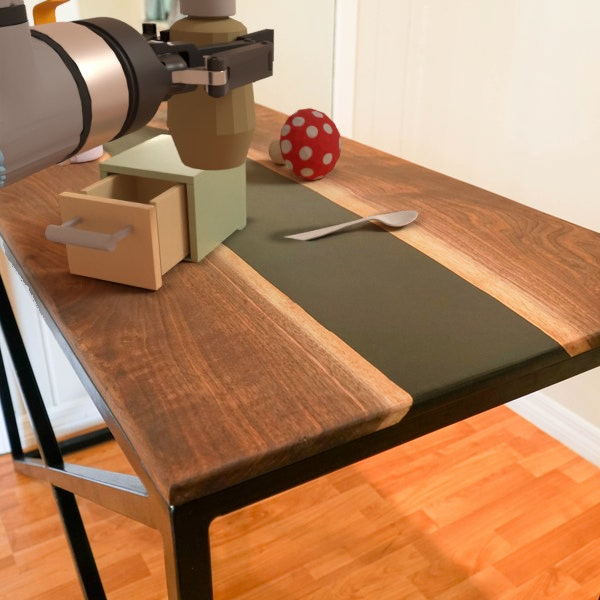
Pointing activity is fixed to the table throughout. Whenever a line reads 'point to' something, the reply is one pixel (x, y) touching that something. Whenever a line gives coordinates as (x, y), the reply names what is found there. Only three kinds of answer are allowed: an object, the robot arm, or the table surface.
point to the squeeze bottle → (203, 108)
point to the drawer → (124, 229)
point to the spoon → (388, 219)
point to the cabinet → (190, 190)
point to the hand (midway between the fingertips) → (234, 42)
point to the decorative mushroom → (307, 144)
